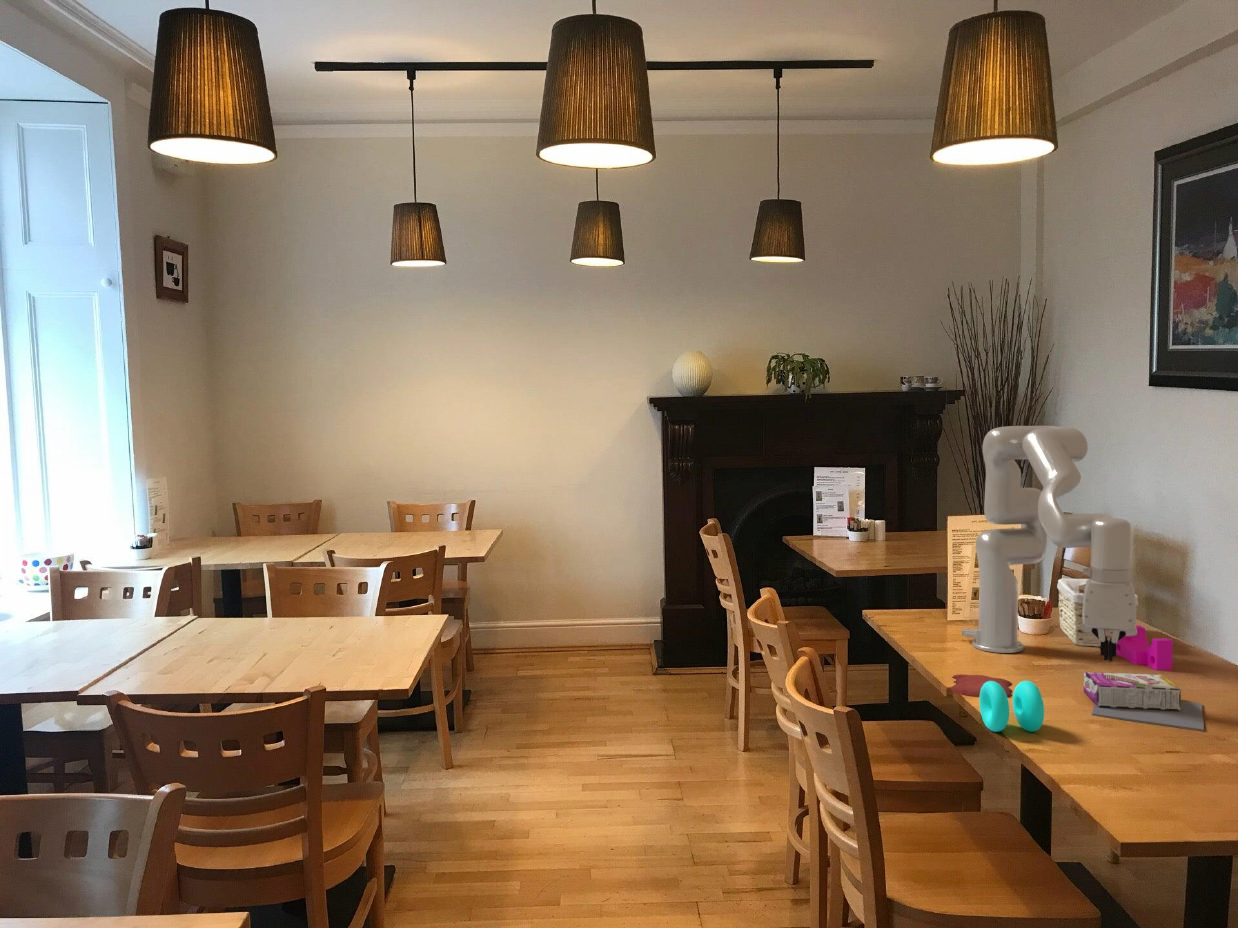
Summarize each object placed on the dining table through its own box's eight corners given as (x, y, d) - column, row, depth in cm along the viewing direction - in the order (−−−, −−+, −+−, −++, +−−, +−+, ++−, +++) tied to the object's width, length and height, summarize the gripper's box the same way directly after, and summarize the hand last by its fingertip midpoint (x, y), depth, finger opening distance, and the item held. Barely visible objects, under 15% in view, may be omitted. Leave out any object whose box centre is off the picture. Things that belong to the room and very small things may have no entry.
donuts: (977, 721, 194) (977, 674, 193) (1025, 721, 194) (1026, 674, 193) (994, 739, 184) (995, 689, 183) (1046, 738, 184) (1047, 689, 183)
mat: (1091, 715, 196) (1091, 713, 196) (1098, 691, 212) (1098, 689, 212) (1203, 731, 186) (1204, 729, 186) (1201, 705, 202) (1201, 703, 202)
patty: (950, 677, 226) (950, 669, 226) (1012, 683, 221) (1012, 674, 221) (947, 699, 210) (947, 690, 210) (1014, 706, 205) (1014, 697, 204)
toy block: (1114, 654, 243) (1114, 625, 242) (1138, 653, 242) (1139, 625, 242) (1146, 670, 228) (1146, 640, 227) (1171, 670, 228) (1172, 640, 227)
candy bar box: (1083, 669, 210) (1162, 673, 207) (1082, 691, 211) (1162, 695, 207) (1097, 684, 200) (1182, 688, 196) (1097, 707, 200) (1181, 712, 197)
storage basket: (1054, 626, 272) (1055, 576, 271) (1116, 629, 268) (1117, 578, 267) (1071, 647, 249) (1072, 593, 248) (1139, 651, 244) (1140, 595, 243)
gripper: (1069, 575, 201) (1068, 659, 203) (1149, 581, 194) (1147, 668, 195) (1073, 570, 208) (1071, 650, 209) (1150, 575, 200) (1148, 659, 202)
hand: (1108, 659), depth 202 cm, fingers closed
